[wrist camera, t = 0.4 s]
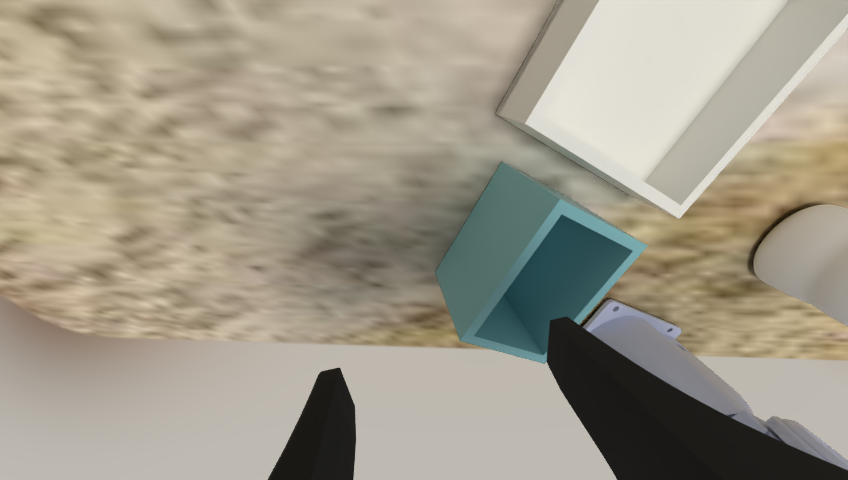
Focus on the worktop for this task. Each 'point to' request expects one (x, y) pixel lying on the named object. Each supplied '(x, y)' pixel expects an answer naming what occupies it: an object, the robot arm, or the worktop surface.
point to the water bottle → (809, 258)
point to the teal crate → (529, 265)
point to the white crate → (665, 85)
